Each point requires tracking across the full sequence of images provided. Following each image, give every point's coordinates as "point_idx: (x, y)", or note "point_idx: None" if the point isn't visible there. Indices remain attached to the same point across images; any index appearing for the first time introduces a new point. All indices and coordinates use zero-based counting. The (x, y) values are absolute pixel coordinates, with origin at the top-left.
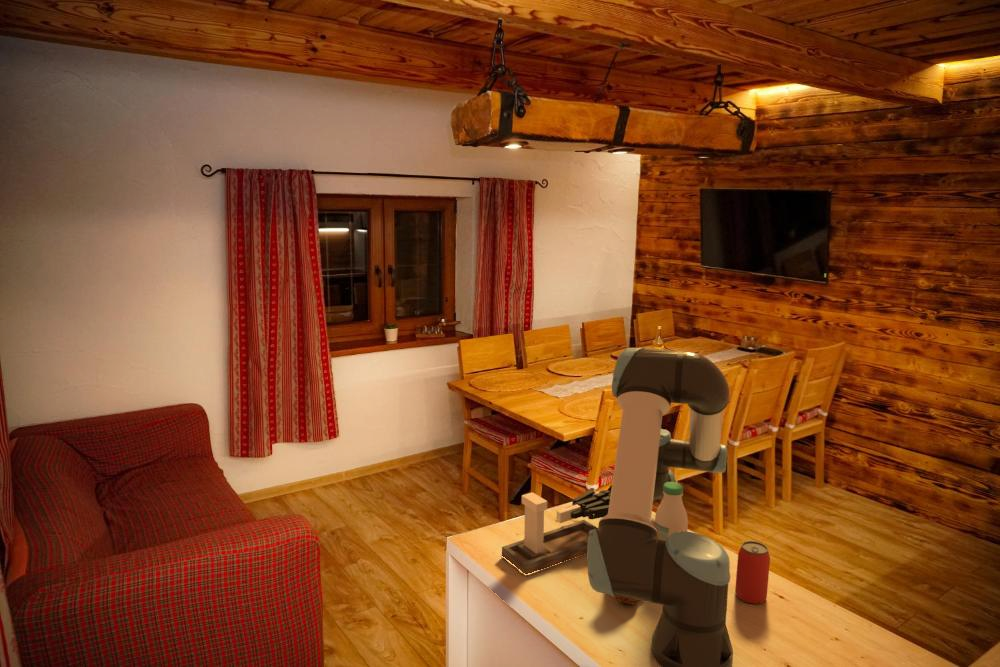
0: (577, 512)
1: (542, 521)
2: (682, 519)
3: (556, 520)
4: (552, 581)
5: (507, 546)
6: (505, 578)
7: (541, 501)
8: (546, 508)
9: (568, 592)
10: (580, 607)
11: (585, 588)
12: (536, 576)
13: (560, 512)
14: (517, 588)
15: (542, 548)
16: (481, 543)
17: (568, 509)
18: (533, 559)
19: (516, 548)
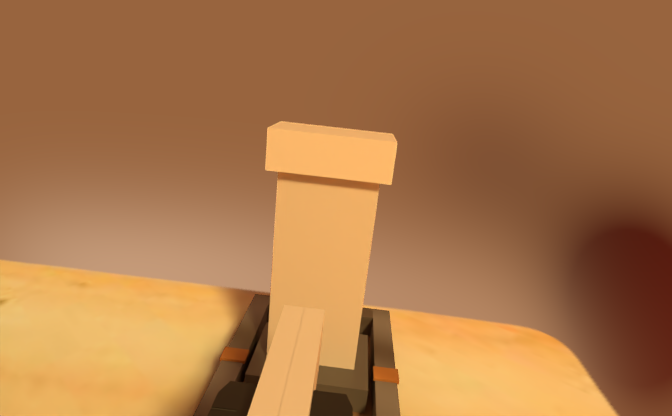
0: (214, 412)
1: (275, 224)
2: None
3: (318, 369)
4: (163, 355)
5: (381, 318)
6: None
7: (287, 126)
8: (267, 164)
9: (79, 347)
10: (11, 324)
11: (16, 391)
12: (226, 346)
13: (290, 308)
14: (232, 296)
15: (267, 341)
16: (502, 359)
17: (281, 356)
18: (257, 318)
19: (371, 349)
